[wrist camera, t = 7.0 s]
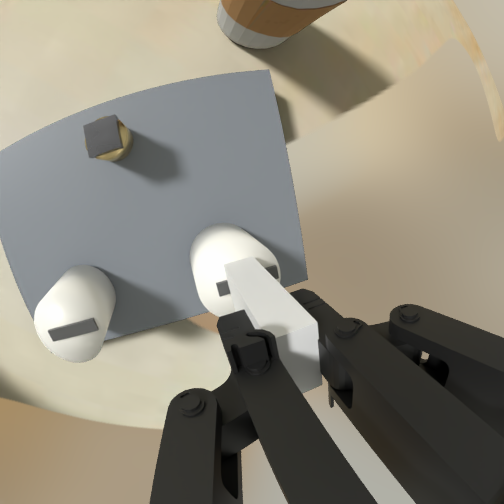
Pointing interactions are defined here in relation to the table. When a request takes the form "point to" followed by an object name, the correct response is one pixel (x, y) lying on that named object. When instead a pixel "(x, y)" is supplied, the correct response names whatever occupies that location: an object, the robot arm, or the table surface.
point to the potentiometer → (108, 139)
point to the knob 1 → (76, 314)
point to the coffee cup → (269, 19)
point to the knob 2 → (222, 252)
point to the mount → (151, 195)
